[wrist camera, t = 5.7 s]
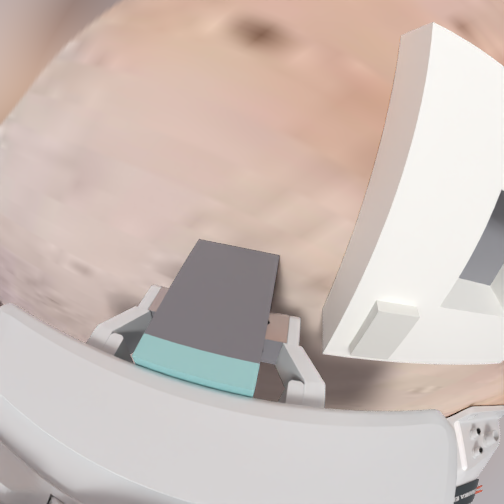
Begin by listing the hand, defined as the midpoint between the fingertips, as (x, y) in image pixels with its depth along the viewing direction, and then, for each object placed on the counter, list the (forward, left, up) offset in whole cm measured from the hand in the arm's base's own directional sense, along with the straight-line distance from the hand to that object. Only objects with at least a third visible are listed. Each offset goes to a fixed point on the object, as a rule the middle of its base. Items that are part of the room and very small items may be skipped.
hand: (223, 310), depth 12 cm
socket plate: (-12, -6, -2) cm, 14 cm away
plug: (0, 0, -2) cm, 2 cm away
